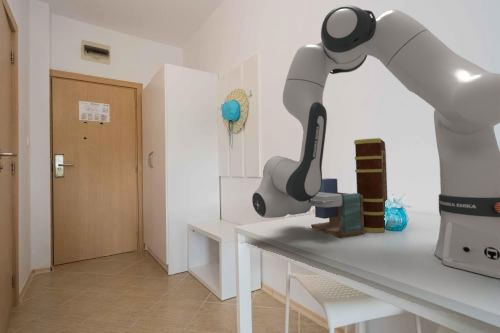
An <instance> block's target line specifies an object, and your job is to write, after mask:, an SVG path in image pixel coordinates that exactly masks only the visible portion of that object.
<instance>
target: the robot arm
mask: <svg viewBox="0 0 500 333" xmlns="http://www.w3.org/2000/svg"><path fill="white" fill-rule="evenodd" d="M320 30H321V31H320V38H321V42H319V43H308V44H303V45H302V46H300V47H299V48H298V49H297V50H296V52H295V54H294V57H293V58H292V61H291V64H290V66H289V70H288V72H287V75H286V79H285V83H284V86H283V91H282V103H283V106H284V108H285V109H286V111H287V112H288V113H289V114H290V115H291V116H292V117H294V118H296V119H297V121H299V123H300V125H301V127H302V133H303V134H302V140H301V141H302V142H301V147H300V148H301V150H300V157H299V160H294V159H291V158H288V157H285V156H281V155H277V156H273V157H271V158H270V159H268V160H267V162H266V163H265V165H264V167H263V170H262V171H263V172H262V179H261V182H260V184H259V186H258V188H257V189H256V190H255V191H254V192H253V194H252V198H251V202H252V207H253V209H254V211H255V212H256V213H257V215H259V216H261V218H263V219H264V218H267V219H276V218H284V217H286V216H287V215H290V216H293V215H302V214H306V213H308V212H310V210H311V209H312V208H313V207H315V206H317V207H338V206H342V195H341V194H334V193H323V192H319V191H320V189H321V186H322V179H323V171H322V170H323V168H322V166H323V158H324V157H323V156H324V150H325V149H324V148H325V140H326V133H327V124H328V114H327V109H326V107H325V106H324V104H323V103H324V102H323V100H324V92H325V87H326V83H327V79H328V76H329V74H331V75H336V74H341V73H350V72H351V73H352V72H354V71H357V70H358V69H359V68H360V67H362V65H363V64H364V63H365V61H366V59H367V57H368V56H370V57H372V58H375V59H377V60H378V61H380V63H381V64H382V65H383V66H384V67H385V68H386V69H387V70H388V72H390V73H391V74H392V75H393V76H394V77H395V78H396V79H397V81H399V82H400V83H401V84H402V85H403V87H405V88H406V90H408V91H409V92H411V93H414V94H415V95H417V97H419V98H421V99H422V100H424V102H426V103H428V104H429V105H430V106H431V107H432V108H433V110H434V111H433V124H434V133H435V142H436V148H437V152H438V154H437V155H438V158H439V159H438V160H439V178H440V181H439V182H440V194H438V212H439V216H440V221H439V222H440V223H439V229H438V230H439V231H438V238H437V241H436V242H437V243H436V245H435V249H434V250H433V251H434V252H433V253H434V255H435V256H436V257H437V258H438V259H440V260H441V262H442V264H443V265H445V266H448V267H452V268H456V269H460V270H463V271H467V272H472V273H476V274H480V275H483V276H487V277H492V278H496V279H500V148H499V145H498V141H497V138H496V134H495V129H494V128H495V126H496V125H498V124H499V123H500V73H496V72H491V71H488V70H486V69H484V68H483V67H480V66H479V65H477V64H475V63H473V62H471V61H469V60H467V59H466V58H464V57H462V56H461V55H459V54H457V53H456V52H455V51H453V50H452V49H450V47H449V46H447V44H445V43H444V42H443V41H442V40H440V39H439V38H438V37H437V36H436V35H435V34H434V33H433V32H431V31H430V30H429V29H428V28H427V27H425V26H424V24H422V23H421V22H419V21H418V20H416V19H415V18H413V17H412V16H410V15H408V14H406V13H405V12H403V11H401V10H398V9H389V10H387V11H384V12H383V13H381V14H380V15H378V16H377V17H376V16H375V14H374V12H373V11H372V10H367V9H362V8H360V7H358V6H355V5H351V4H343V5H339V6H336V7H334V8H333V9H331V10H330V11H329V12H328V13H327V14H326V15H325V16H324V19H323V21H322V23H321V27H320Z"/></svg>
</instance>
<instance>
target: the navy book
mask: <svg viewBox="0 0 500 333" xmlns="http://www.w3.org/2000/svg"><path fill="white" fill-rule="evenodd" d="M319 192H323V193H334V194H338V178H332V177H331V178H330V177H329V178H328V177H326V178H322V186H321V189H320V191H319ZM314 215H315V216H314V217H315V218H318V219H324V220H326V219H329V218H331V217H337V216H338V207H317V206H314Z"/></svg>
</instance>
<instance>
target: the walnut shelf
mask: <svg viewBox="0 0 500 333" xmlns="http://www.w3.org/2000/svg"><path fill="white" fill-rule="evenodd" d="M338 194H341V195H342V206H338V216H337V217H331V218H328V220H329V221H327V222H319V223H312V224H310V225H311V226H310V228H311V227H312V228H311V229H313V228H314V230H316V229H317V231H319V230H320V232H322V233H326V234H329V235H331V236H334V237H337V238H341V239H343V238H349V237H355V236H359V235H360V236H361V235H364V234H365V232H364V216H363V195H360V194H358V193H357V192H353V193H345V192H338Z"/></svg>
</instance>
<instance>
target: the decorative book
mask: <svg viewBox="0 0 500 333" xmlns="http://www.w3.org/2000/svg"><path fill="white" fill-rule="evenodd" d="M353 145H355V147H354V148H355V157H354V160H355V169H354V171H355V174H356V175H355V176H356V193H358V194H360V195H363V216H364V233H373V234H374V233H375V234H379V233H380V234H381V233H384V232H385V230H386V227H385V220H384V218H385V216H384V215H385V201H386V200H388V177H387V152H386V151H387V150H386V142H385V141H384V140H383V139H382V138H381V137H380V138H379V137H378V138H377V137H376V138H374V137H373V138H362V139H361V138H360V139H355V140H353Z"/></svg>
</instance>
